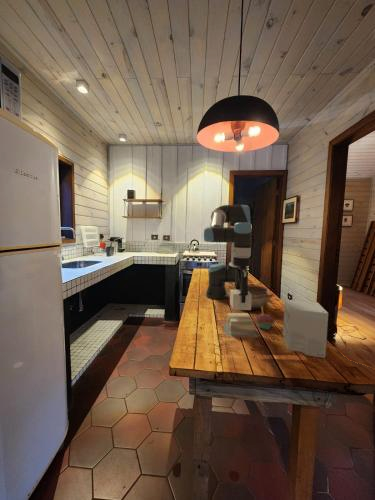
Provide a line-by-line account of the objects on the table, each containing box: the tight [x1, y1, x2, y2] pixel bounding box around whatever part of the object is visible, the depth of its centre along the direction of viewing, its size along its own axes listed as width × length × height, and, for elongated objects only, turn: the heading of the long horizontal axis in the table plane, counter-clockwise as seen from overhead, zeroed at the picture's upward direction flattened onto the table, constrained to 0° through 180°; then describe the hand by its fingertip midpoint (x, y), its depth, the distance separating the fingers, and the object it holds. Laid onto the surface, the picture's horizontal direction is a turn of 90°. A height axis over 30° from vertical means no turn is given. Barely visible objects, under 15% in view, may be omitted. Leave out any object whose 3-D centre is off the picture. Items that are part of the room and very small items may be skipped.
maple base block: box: [226, 312, 255, 335], centre depth 101 cm, size 10×10×6 cm
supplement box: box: [282, 299, 329, 359], centre depth 88 cm, size 13×13×18 cm
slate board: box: [222, 322, 260, 338], centre depth 101 cm, size 14×14×1 cm
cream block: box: [229, 288, 252, 311], centre depth 99 cm, size 8×8×7 cm
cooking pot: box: [248, 284, 274, 311], centre depth 133 cm, size 25×19×12 cm
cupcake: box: [255, 306, 275, 330], centre depth 104 cm, size 9×8×12 cm
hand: (240, 305), depth 100 cm, fingers closed on cream block, 8 cm apart
